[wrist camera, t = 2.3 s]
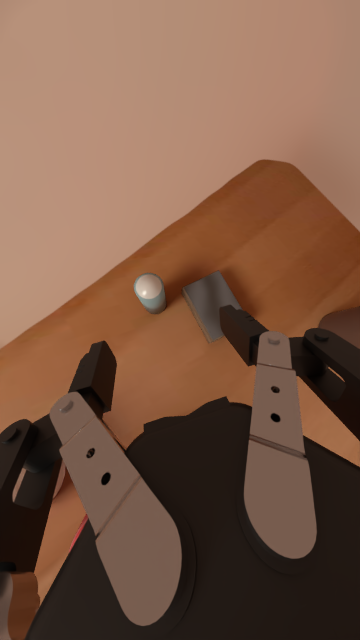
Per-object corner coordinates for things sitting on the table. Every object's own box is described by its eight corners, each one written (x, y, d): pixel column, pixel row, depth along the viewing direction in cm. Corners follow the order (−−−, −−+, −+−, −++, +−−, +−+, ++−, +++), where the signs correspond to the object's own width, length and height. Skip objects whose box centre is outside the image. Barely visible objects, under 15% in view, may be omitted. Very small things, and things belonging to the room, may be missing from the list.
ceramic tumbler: (160, 289, 39) (155, 268, 29) (170, 308, 38) (168, 292, 28) (140, 298, 38) (129, 280, 29) (150, 317, 38) (141, 305, 28)
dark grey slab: (215, 277, 40) (219, 268, 36) (243, 324, 38) (251, 321, 34) (181, 293, 39) (182, 286, 35) (208, 343, 37) (212, 342, 33)
